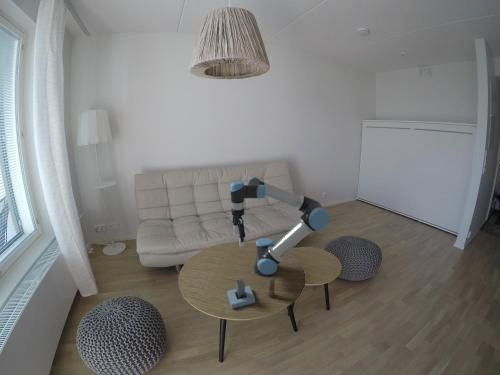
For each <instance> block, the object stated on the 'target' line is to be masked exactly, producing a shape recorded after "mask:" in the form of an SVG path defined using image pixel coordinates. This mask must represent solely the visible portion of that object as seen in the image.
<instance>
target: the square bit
mask: <svg viewBox="0 0 500 375" xmlns="http://www.w3.org/2000/svg"><path fill="white" fill-rule="evenodd" d="M235 283H236V284H235V286H236V288H235V289H237V296H236V298H237V300H238V299H242V298H246V297H245V287H246V285H245V284H246V283H245V281H244V279H243V278H242V279H238V280H237V279H236V282H235Z"/></svg>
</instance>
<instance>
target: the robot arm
mask: <svg viewBox="0 0 500 375" xmlns="http://www.w3.org/2000/svg"><path fill="white" fill-rule="evenodd" d="M266 197H267V198H271V199H274V200H276V201H279V202H281V203H284V204H287V206H288V205H289V206H290V207H293V208H295V209H296V211H300V212H301V213H302V215H301V216H300V218H299V221H298V222H297V223H296V224H295V225H294V226H293V227H292V228H290V230H288V232H286V234H284V235H283V236H282V237H281V238H280V239H279V240H278V241H276V243H275V244H274V240H272V239H270V238H267V237H266V238H265V237H263V238H259V239H257V240H256V242H255V251H256V253H255V256H256V257H255V262H254V264H253V272H254V273H255V274H256V275H257V276H259V277H270V276H273V274H275V272H277V270H278V265H279V264H280V263H281V262H282V260H283V257H284V256H285V255H286V254H288V253H289V252H290V251H291V250H292V249H293V248H294V247H295V246H296V245H297V244H298V243H299V242H301V241H302V240H303V239H304V238H305V237H306V236H307V235H308V234H309V233H315V232H316V231H317V230H319V231H320V230H323V229H325V228H326V227H327V226H328V224H329V222H330V216H329V213H328V212H327V211H328V210H326V209H325V208H324V207H323V205H322V204H321V203H320V202H319V201H317V200H315V199H313V198H310V197H307V196H305V195H298V194H295V193H293V192H290V191H288V190H285V189H283V188H280V187H278V186H275V185H272V184H270V183H267V182H264V181H262V180H260V179H259V178H258V177H257V176H252V177H251V178H249V179H248V182H247V185H245V183H244V182H243V181H240V180H236V181H232V182H231V184H230V204H229V205H230V206H231V209H230V211H231V216H232V225H233V226H232V227H233V236H238V235H239V236H238V238H239V240H238V242H239V247H240V248H242V247H245V238H246V231H245V225H244V219H243V216H244V215H245V199H264V198H266Z"/></svg>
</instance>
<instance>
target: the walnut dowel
mask: <svg viewBox="0 0 500 375" xmlns="http://www.w3.org/2000/svg"><path fill="white" fill-rule="evenodd" d="M275 282H276V281H275V278H274V277H273V276H272V277H270V276H269V277H268V282H267V283H268V287H267V288H268V290H267V292H268V293H267V296H268V298H270V299H273V298H275V284H276V283H275Z"/></svg>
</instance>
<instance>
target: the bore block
mask: <svg viewBox="0 0 500 375" xmlns="http://www.w3.org/2000/svg"><path fill="white" fill-rule="evenodd" d="M226 292H227V298H228V301H229V305H230V308H231V310H233V309H236V308H240V307H243V306H248V305H251V304H255V303H256V297H255V295H254V292H253V291H252V289H251V286H250V285H247V286H246V285H245V298H242V299H237V289H236V288H233V289H230V290H227V291H226Z"/></svg>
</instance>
